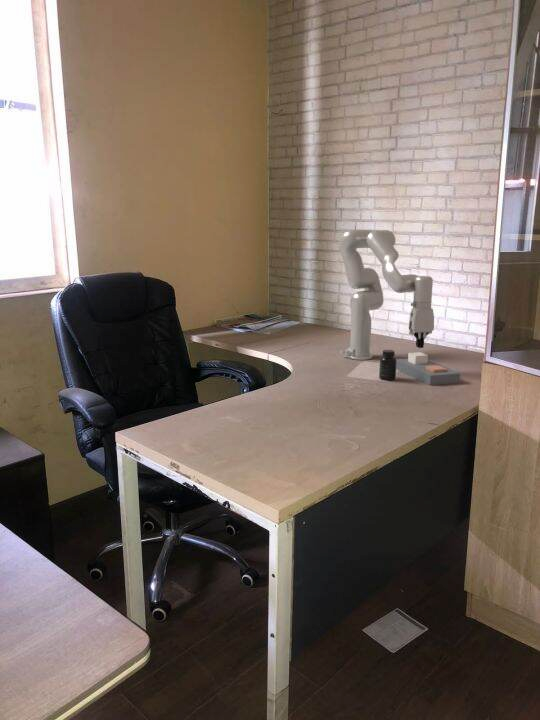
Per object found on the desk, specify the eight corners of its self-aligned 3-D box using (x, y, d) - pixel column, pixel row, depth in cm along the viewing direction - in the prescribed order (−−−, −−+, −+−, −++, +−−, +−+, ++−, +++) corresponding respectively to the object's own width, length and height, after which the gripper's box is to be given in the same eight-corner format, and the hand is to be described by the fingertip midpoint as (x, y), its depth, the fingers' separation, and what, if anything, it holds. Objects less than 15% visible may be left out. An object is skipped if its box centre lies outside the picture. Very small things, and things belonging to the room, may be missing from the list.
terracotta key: (432, 381, 237) (433, 369, 236) (424, 377, 243) (425, 366, 242) (445, 380, 239) (446, 368, 238) (437, 376, 245) (438, 365, 244)
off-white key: (414, 367, 250) (415, 356, 249) (407, 364, 255) (408, 352, 254) (427, 366, 252) (427, 355, 250) (419, 363, 257) (420, 352, 256)
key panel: (429, 385, 233) (430, 375, 232) (394, 368, 258) (395, 359, 257) (459, 382, 237) (460, 373, 236) (422, 366, 263) (422, 357, 262)
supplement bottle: (385, 375, 246) (386, 348, 243) (398, 379, 241) (400, 351, 238) (375, 378, 241) (377, 350, 238) (389, 382, 236) (391, 353, 233)
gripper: (411, 307, 241) (409, 350, 245) (442, 305, 246) (439, 348, 250) (402, 305, 248) (400, 346, 252) (432, 303, 253) (429, 344, 257)
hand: (419, 347), depth 251 cm, fingers closed
